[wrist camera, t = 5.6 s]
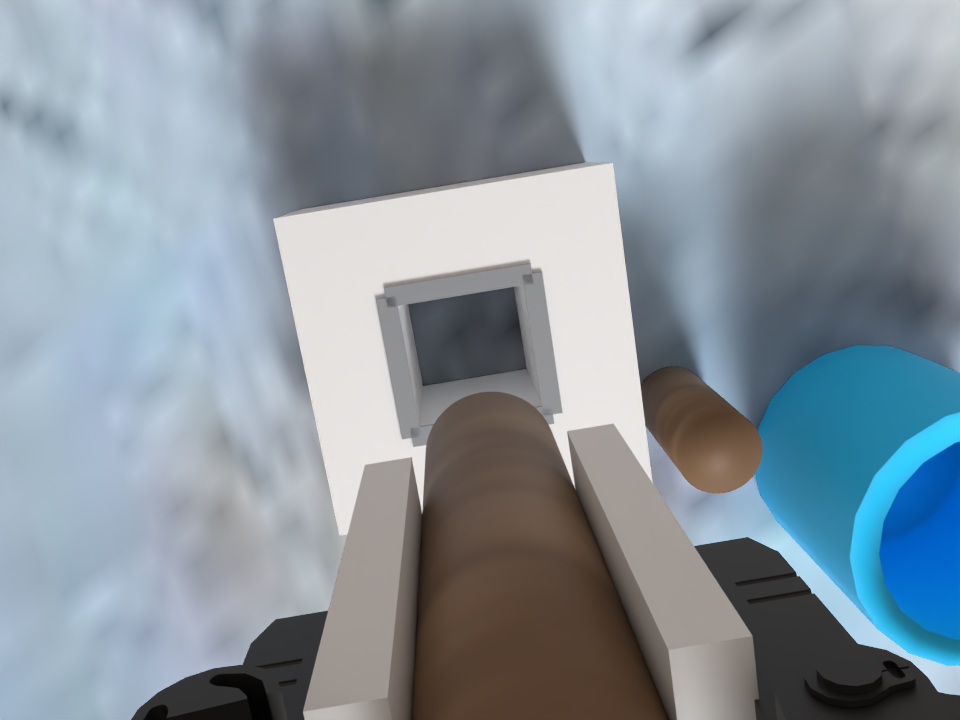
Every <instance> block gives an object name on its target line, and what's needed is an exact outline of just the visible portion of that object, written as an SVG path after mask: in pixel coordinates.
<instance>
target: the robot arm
mask: <svg viewBox="0 0 960 720" xmlns="http://www.w3.org/2000/svg"><path fill="white" fill-rule="evenodd" d="M567 435H568V442H569V449H570V455H571V462H572V469H573V476H574V483H575V490H576V492H577V495H578V497H579V500H580V502H581V505H582V507H583V510H584V512H585V515H586V517H587V519H588V522H589V524H590V527H591V529H592V532H593V534H594V537H595V539H596V541H597V544H598V546H599V549H600V551H601V554H602V556H603V559H604V561H605V564H606V566H607V568H608V571H609V573H610V576H611V578H612V581H613V583H614V586H615V588H616V591H617V593H618V595H619V598H620V600H621V603H622V605H623V608H624V610H625V613H626V615H627V618H628V620H629V622H630V625H631V627H632V630H633V632H634V635H635V637H636V640H637V642H638V645H639V647H640V649H641V652H642V654H643V657H644V659H645V662H646V664H647V667H648V669H649V672H650V674H651V676H652V679H653V681H654V684H655V686H656V689H657V691H658V694H659V696H660V699H661V701H662V703H663V706H664V708H665V711H666V713H667V716H668V718H669V720H960V695H950V694H944V693H940V692H937V690H936V689H935V687H934V686H933V684H932V683H931V681H930V680H929V679H928V677H927V676H926V675H925V674H924V673H923V672H921V671H920V670H919V669H918V668H917V667H916V666H915V665H914V664H913V663H912V662H911V661H908V660H906V659H904V658H902V657H900V656H898V655H896V654H893V653H891V652H889V651H887V650H883V649H879V648H874V647H869V646H865V645H860V644H857V643H856V641H855V640H854V639H853V638H852V637H851V636H850V634H849V633H848V632H847V631H846V630H845V629H844V628H843V626H842V625H841V624H840V623H839V622H838V621H837V619H836V618H835V617H834V616H833V615H832V614H831V612H830V611H829V610H828V609H827V608H826V607H825V605H824V604H823V603H822V602H821V601H820V600H819V598H818V597H817V596H816V595H815V594H812V593H811V589H810V588H809V587H808V586H807V585H806V583H805V582H804V581H803V580H802V579H801V578H800V576H798V577H797V575H796V572H795V571H794V569H793V568H792V567H791V566H790V565H789V564H788V562H787V561H786V560H785V559H784V558H783V557H782V556H781V554H780V553H779V552H778V551H775V550H773V549H771V548H769V547H767V546H765V545H763V544H761V543H759V542H756V541H754V540H752V539H750V538H748V537H746V538H741V539H735V540H729V541H723V542H717V543H711V544H705V545H699V546H693V544H692V543H691V541H690V539H689V538H688V536H687V535H686V533H685V532H684V530H683V529H682V527H681V526H680V524H679V523H678V521H677V520H676V518H675V517H674V515H673V514H672V512H671V510H670V509H669V507H668V506H667V504H666V503H665V501H664V500H663V498H662V497H661V495H660V494H659V492H658V491H657V489H656V488H655V486H654V484H653V483H652V481H651V480H650V478H649V477H648V475H647V474H646V472H645V471H644V469H643V468H642V466H641V465H640V463H639V462H638V460H637V458H636V457H635V455H634V454H633V452H632V451H631V449H630V448H629V446H628V445H627V443H626V442H625V440H624V439H623V437H622V436H621V434H620V433H619V431H618V429H617V428H616V426H615V425H614V423H613V424H607V425H601V426H595V427H589V428H583V429H577V430H571V431H567ZM421 532H422V510H421V504H420V499H419V494H418V488H417V483H416V478H415V472H414V467H413V462H412V457H409V458H403V459H397V460H391V461H385V462H379V463H373V464H367V465H365V467H364V471H363V475H362V479H361V483H360V486H359V490H358V494H357V498H356V502H355V506H354V510H353V514H352V518H351V522H350V526H349V530H348V534H347V538H346V542H345V546H344V550H343V554H342V558H341V562H340V566H339V570H338V574H337V578H336V582H335V586H334V590H333V594H332V598H331V602H330V606H329V610H328V611H324V612H318V613H312V614H306V615H300V616H294V617H288V618H282V619H276V620H275V621H274V622H273V623H272V624H271V625H270V626H268V627H267V628H266V629H265V630H264V631H263V632H262V633H261V634H260V635H259V636H258V637H257V638H256V639H255V640H254V641H253V642H252V643H251V645H250V648H249V650H248V653H247V655H246V658H245V660H244V663H243V665H237V666H229V667H222V668H214V669H211V670H208V671H205V672H202V673H199V674H196V675H193V676H189V677H186V678H184V679H182V680H180V681H179V682H177V683H175V684H173V685H171V686H169V687H167V688H165V689H164V690H162V691H160V692H158V693H157V694H156V695H155V696H154V697H152V698H151V699H150V700H149V701H148V702H146V703H145V704H144V705H143V706H141V707H140V708H139V709H138V710H137V712H136V713H135V715H134V716H133V718H132V719H131V720H412V701H413V682H414V663H415V645H416V626H417V607H418V588H419V570H420V551H421Z"/></svg>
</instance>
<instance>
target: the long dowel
mask: <svg viewBox="0 0 960 720" xmlns="http://www.w3.org/2000/svg"><path fill="white" fill-rule="evenodd" d="M412 720H669V718H668V716H667V713H666V711H665V708H664V706H663V703H662V701H661V699H660V696H659V694H658V691H657V689H656V686H655V684H654V681H653V679H652V676H651V674H650V672H649V669H648V667H647V664H646V662H645V659H644V657H643V654H642V652H641V649H640V647H639V645H638V642H637V640H636V637H635V635H634V632H633V630H632V627H631V625H630V622H629V620H628V618H627V615H626V613H625V610H624V608H623V605H622V603H621V600H620V598H619V595H618V593H617V591H616V588H615V586H614V583H613V581H612V578H611V576H610V573H609V571H608V568H607V566H606V564H605V561H604V559H603V556H602V554H601V551H600V549H599V546H598V544H597V541H596V539H595V537H594V534H593V532H592V529H591V527H590V524H589V522H588V519H587V517H586V515H585V512H584V510H583V507H582V505H581V502H580V500H579V497H578V495H577V492H576V490H575V487H574V485H573V482H572V480H571V478H570V475H569V473H568V470H567V468H566V465H565V463H564V460H563V458H562V455H561V453H560V451H559V448H558V446H557V443H556V441H555V438H554V436H553V433H552V431H551V429H550V427H549V425H548V423H547V421H546V420H545V418H544V417H543V415H542V414H541V413H540V412H539V411H538V410H537V409H536V408H535V407H534V406H532V405H531V404H530V403H528V402H527V401H525V400H523V399H521V398H519V397H517V396H515V395H511V394H508V393H503V392H480V393H476V394H472V395H469V396H466V397H464V398H462V399H460V400H458V401H456V402H455V403H453V404H452V405H450V406H449V407H448V408H447V409H446V410H445V411H444V412H443V413H442V414H441V415H440V416H439V417H438V419H437V420H436V422H435V423H434V425H433V427H432V429H431V431H430V433H429V436H428V440H427V445H426V454H425V473H424V491H423V510H422V532H421V551H420V570H419V588H418V607H417V626H416V645H415V663H414V682H413V701H412Z"/></svg>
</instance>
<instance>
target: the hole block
mask: <svg viewBox="0 0 960 720" xmlns="http://www.w3.org/2000/svg"><path fill="white" fill-rule="evenodd" d="M273 221H274V225H275V230H276V235H277V240H278V244H279V249H280V254H281V259H282V263H283V268H284V273H285V278H286V283H287V287H288V292H289V297H290V302H291V306H292V311H293V316H294V321H295V325H296V330H297V335H298V340H299V344H300V349H301V354H302V359H303V364H304V368H305V373H306V378H307V383H308V387H309V392H310V397H311V402H312V406H313V411H314V416H315V421H316V425H317V430H318V435H319V440H320V444H321V449H322V454H323V459H324V464H325V468H326V473H327V478H328V483H329V487H330V492H331V497H332V502H333V506H334V511H335V516H336V521H337V525H338V530H339V535H345V534H348V530H349V526H350V522H351V518H352V514H353V510H354V506H355V502H356V498H357V494H358V490H359V486H360V483H361V479H362V475H363V471H364V467H365V465H367V464H373V463H379V462H385V461H391V460H397V459H403V458H409V457H412V462H413V467H414V472H415V478H416V483H417V488H418V494H419V499H420V504H421V510H423V491H424V473H425V454H426V445H427V440H428V436H429V433H430V431H431V429H432V427H433V425H434V423H435V422H436V420H437V419H438V417H439V416H440V415H441V414H442V413H443V412H444V411H445V410H446V409H447V408H448V407H449V406H450V405H452V404H453V403H455V402H456V401H458V400H460V399H462V398H464V397H466V396H469V395H472V394H476V393H480V392H503V393H508V394H511V395H515V396H517V397H519V398H521V399H523V400H525V401H527V402H528V403H530V404H531V405H532V406H534V407H535V408H536V409H537V410H538V411H539V412H540V413H541V414H542V415H543V417H544V418H545V420H546V421H547V423H548V425H549V427H550V429H551V431H552V433H553V436H554V438H555V441H556V443H557V446H558V448H559V451H560V453H561V455H562V458H563V460H564V463H565V465H566V468H567V470H568V473H569V475H570V478H571V480H572V482H573V485H574V487H575V483H574V476H573V469H572V462H571V455H570V449H569V442H568V435H567V431H571V430H577V429H583V428H589V427H595V426H601V425H607V424H613V423H614V425H615V426H616V428H617V429H618V431H619V433H620V434H621V436H622V437H623V439H624V440H625V442H626V443H627V445H628V446H629V448H630V449H631V451H632V452H633V454H634V455H635V457H636V458H637V460H638V462H639V463H640V465H641V466H642V468H643V469H644V471H645V472H646V474H647V475H648V477H649V478H650V480H651V481H652V475H651V467H650V459H649V451H648V443H647V435H646V427H645V418H644V410H643V402H642V394H641V386H640V378H639V370H638V362H637V354H636V346H635V338H634V330H633V321H632V313H631V305H630V297H629V289H628V281H627V273H626V265H625V257H624V249H623V241H622V233H621V224H620V216H619V208H618V200H617V192H616V184H615V176H614V168H613V163H580V164H574V165H567V166H561V167H555V168H549V169H543V170H537V171H531V172H525V173H519V174H513V175H507V176H501V177H494V178H488V179H482V180H476V181H470V182H464V183H458V184H452V185H446V186H440V187H434V188H428V189H422V190H415V191H409V192H403V193H397V194H391V195H385V196H379V197H373V198H367V199H361V200H355V201H349V202H342V203H336V204H330V205H324V206H318V207H312V208H306V209H300V210H297V211H294V212H291V213H288V214H285V215H282V216H279V217H276V218H273ZM510 287H514V290H515V297H516V304H517V310H518V317H519V323H520V330H521V336H522V343H523V349H524V356H525V363H526V369H523V370H517V371H511V372H505V373H499V374H493V375H487V376H481V377H475V378H469V379H463V380H457V381H451V382H445V383H439V384H433V385H427V386H423V384H422V378H421V372H420V367H419V361H418V356H417V350H416V345H415V339H414V334H413V328H412V322H411V317H410V311H409V306H408V304H413V303H419V302H425V301H431V300H437V299H443V298H449V297H455V296H461V295H467V294H473V293H479V292H485V291H491V290H497V289H503V288H510Z"/></svg>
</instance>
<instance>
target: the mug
mask: <svg viewBox="0 0 960 720" xmlns="http://www.w3.org/2000/svg"><path fill="white" fill-rule="evenodd" d="M757 431H758V432H759V435H760V437H761V440H762V448H763V452H762V459H761V462H760V465H759V467H758V469H757V471H756V473H755V475H756V479H757V484H758V488H759V493H760V496H761V497H762V499H763V500H764V502H765V503H766V505H767V507H768V508H769V510H770V511H771V513H772V514H773V516H774V517H775V519H776V521H777V522H778V523H779V524H780V525H781V526H782V527H783V528H784V529H785V530H786V531H787V532H788V534H789V535H790V536H791V537H792V538H793V539H794V540H795V541H796V542H797V543H798V544H799V545H800V546H801V547H802V549H803V550H804V551H805V552H806V553H807V554H808V555H809V556H810V557H811V558H812V559H813V560H814V561H815V562H816V564H817V565H818V566H819V567H820V568H821V569H822V570H823V571H824V572H825V573H826V574H827V575H828V576H829V577H830V578H831V580H832V581H833V582H834V583H835V584H836V585H837V586H838V587H839V588H840V589H841V590H842V591H843V592H844V593H845V595H846V596H847V597H848V598H849V599H850V600H851V601H852V602H853V603H854V604H855V605H856V606H857V607H858V608H859V610H860V611H861V612H862V613H863V614H864V615H865V616H866V617H867V618H868V619H869V620H870V621H871V622H872V623H873V625H874V626H875V627H876V628H877V629H878V630H879V631H881V632H882V633H883V634H885V635H886V636H887V637H889V638H890V639H891V640H892V641H894V642H895V643H896V644H898V645H899V646H900V647H902V648H903V649H904V650H906V651H907V652H908V653H910V654H913V655H916V656H919V657H922V658H926V659H929V660H932V661H935V662H938V663H941V664H944V665H948V666H960V373H959V372H957V371H954V370H952V369H950V368H947V367H945V366H942V365H940V364H937V363H935V362H932V361H930V360H927V359H925V358H923V357H920V356H917V355H915V354H912V353H909V352H906V351H904V350H901V349H898V348H896V347H893V346H880V345H855V346H851V347H848V348H844V349H841V350H837V351H834V352H830V353H827V354H824V355H822V356H820V357H819V358H817V359H816V360H814V361H812V362H811V363H809V364H808V365H806V366H805V367H803V368H802V369H800V370H798V371H797V372H795V373H794V374H793V375H792V376H791V377H790V378H789V379H788V381H787V382H786V383H785V384H784V385H783V386H782V388H781V389H780V390H779V391H778V392H777V393H776V394H775V396H774V397H773V398H772V399H771V400H770V402H769V405H768V407H767V409H766V411H765V414H764V416H763V418H762V420H761V423H760V425H759V427H758V429H757Z"/></svg>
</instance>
